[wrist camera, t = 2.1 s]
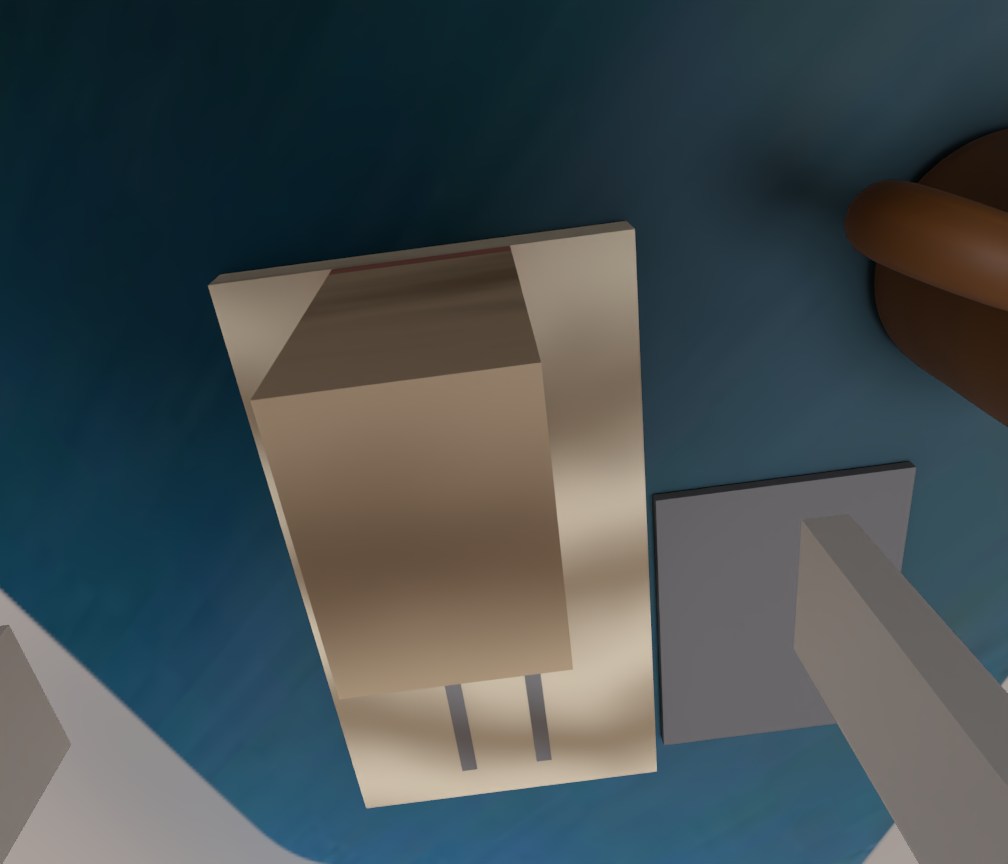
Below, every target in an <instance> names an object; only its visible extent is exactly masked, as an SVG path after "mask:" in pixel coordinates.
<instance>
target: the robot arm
mask: <svg viewBox="0 0 1008 864" xmlns="http://www.w3.org/2000/svg"><path fill="white" fill-rule="evenodd" d="M794 650H795V652H796V654H797V655H798V657H799V659H800V661H801V662H802V664H803V666H804V667H805V669H806V671H807V673H808V674H809V676H810V678H811V679H812V681H813V683H814V685H815V686H816V688H817V690H818V691H819V693H820V695H821V697H822V698H823V700H824V702H825V703H826V705H827V707H828V709H829V710H830V712H831V714H832V715H833V717H834V719H835V721H836V722H837V724H838V726H839V727H840V729H841V731H842V733H843V734H844V736H845V738H846V739H847V741H848V743H849V745H850V746H851V748H852V750H853V751H854V753H855V755H856V757H857V758H858V760H859V762H860V763H861V765H862V767H863V769H864V770H865V772H866V774H867V775H868V777H869V779H870V781H871V782H872V784H873V786H874V787H875V789H876V791H877V793H878V794H879V796H880V798H881V799H882V801H883V803H884V805H885V806H886V808H887V810H888V811H889V813H890V815H891V817H892V818H893V820H894V822H895V823H896V825H897V827H898V829H899V830H900V832H901V834H902V835H903V837H904V839H905V840H906V842H907V844H908V846H909V847H910V849H911V851H912V852H913V854H914V856H915V858H916V859H917V861H918V863H919V864H1008V693H1007V692H1006V691H1005V690H1004V689H1003V688H1002V687H1001V685H1000V684H999V683H998V682H997V681H996V680H995V679H994V678H993V676H992V675H991V674H990V673H989V672H988V671H987V670H986V668H985V667H984V666H983V665H982V664H981V663H980V662H979V661H978V659H977V658H976V657H975V656H974V655H973V654H972V653H971V652H970V650H969V649H968V648H967V647H966V646H965V645H964V644H963V643H962V641H961V640H960V639H959V638H958V637H957V636H956V635H955V634H954V632H953V631H952V630H951V629H950V628H949V627H948V626H947V625H946V623H945V622H944V621H943V620H942V619H941V618H940V617H939V615H938V614H937V613H936V612H935V611H934V610H933V609H932V608H931V606H930V605H929V604H928V603H927V602H926V601H925V600H924V599H923V597H922V596H921V595H920V594H919V593H918V592H917V591H916V590H915V588H914V587H913V586H912V585H911V584H910V583H909V582H908V581H907V579H906V578H905V577H904V576H903V575H902V574H901V573H900V572H899V570H898V569H897V568H896V567H895V566H894V565H893V564H892V562H891V561H890V560H889V559H888V558H887V557H886V556H885V555H884V553H883V552H882V551H881V550H880V549H879V548H878V547H877V546H876V544H875V543H874V542H873V541H872V540H871V539H870V538H869V537H868V535H867V534H866V533H865V532H864V531H863V530H862V529H861V528H860V526H859V525H858V524H857V523H856V522H855V521H854V520H853V519H852V517H851V516H850V515H849V514H842V515H834V516H827V517H819V518H812V519H804V520H802V525H801V540H800V556H799V572H798V587H797V603H796V619H795V634H794ZM70 745H71V743H70V741H69V739H68V737H67V735H66V734H65V731H64V730H63V728H62V726H61V724H60V722H59V720H58V718H57V716H56V714H55V712H54V711H53V708H52V706H51V705H50V703H49V701H48V699H47V697H46V695H45V693H44V691H43V689H42V687H41V685H40V684H39V682H38V680H37V678H36V676H35V674H34V672H33V670H32V668H31V666H30V664H29V662H28V661H27V659H26V657H25V655H24V653H23V651H22V649H21V647H20V645H19V643H18V642H17V640H16V638H15V636H14V634H13V632H12V630H11V628H10V626H9V625H5V626H0V864H2V863H3V862H4V860H5V858H6V857H7V855H8V853H9V851H10V850H11V848H12V846H13V844H14V843H15V841H16V839H17V837H18V835H19V834H20V832H21V831H22V829H23V827H24V825H25V824H26V822H27V820H28V818H29V817H30V815H31V813H32V811H33V810H34V808H35V806H36V804H37V803H38V801H39V799H40V797H41V796H42V794H43V792H44V791H45V789H46V787H47V785H48V784H49V782H50V780H51V778H52V777H53V775H54V773H55V772H56V770H57V768H58V766H59V765H60V763H61V761H62V759H63V758H64V756H65V754H66V752H67V751H68V749H69V747H70Z"/></svg>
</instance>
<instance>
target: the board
mask: <svg viewBox="0 0 1008 864" xmlns="http://www.w3.org/2000/svg"><path fill="white" fill-rule="evenodd" d="M505 246H510V248H511V251H512V255H513V259H514V263H515V266H516V270H517V274H518V278H519V281H520V285H521V289H522V293H523V296H524V300H525V304H526V307H527V311H528V315H529V319H530V322H531V326H532V330H533V334H534V337H535V341H536V345H537V349H538V352H539V356H540V360H541V366H542V375H543V385H544V394H545V404H546V414H547V423H548V433H549V442H550V452H551V462H552V471H553V481H554V490H555V500H556V510H557V519H558V529H559V538H560V548H561V558H562V567H563V577H564V586H565V596H566V606H567V615H568V625H569V635H570V644H571V654H572V663H573V670H566V671H558V672H550V673H542V674H534V675H527V676H519V677H511V678H503V679H495V680H487V681H480V682H472V683H464V684H456V685H448V686H441V687H433V688H425V689H417V690H409V691H402V692H394V693H386V694H378V695H370V696H363V697H355V698H347V699H339V697H338V693H337V690H336V687H335V683H334V680H333V677H332V673H331V670H330V667H329V663H328V660H327V657H326V653H325V650H324V647H323V643H322V640H321V636H320V633H319V630H318V626H317V623H316V620H315V616H314V613H313V610H312V606H311V603H310V600H309V596H308V593H307V590H306V586H305V583H304V579H303V576H302V573H301V569H300V566H299V563H298V559H297V556H296V553H295V549H294V546H293V543H292V539H291V536H290V533H289V529H288V526H287V522H286V519H285V516H284V512H283V509H282V506H281V502H280V499H279V496H278V492H277V489H276V486H275V482H274V479H273V476H272V472H271V469H270V465H269V462H268V459H267V455H266V452H265V449H264V445H263V442H262V439H261V435H260V432H259V429H258V425H257V422H256V419H255V415H254V412H253V408H252V405H251V402H250V400H251V398H252V397H253V395H254V394H255V392H256V390H257V389H258V387H259V386H260V384H261V382H262V381H263V379H264V378H265V376H266V374H267V373H268V371H269V370H270V368H271V366H272V365H273V363H274V361H275V360H276V358H277V357H278V355H279V353H280V352H281V350H282V349H283V347H284V345H285V344H286V342H287V341H288V339H289V337H290V336H291V334H292V333H293V331H294V329H295V328H296V326H297V324H298V323H299V321H300V320H301V318H302V316H303V315H304V313H305V312H306V310H307V308H308V307H309V305H310V304H311V302H312V300H313V299H314V297H315V296H316V294H317V292H318V291H319V289H320V288H321V286H322V284H323V283H324V281H325V279H326V278H327V276H328V275H329V273H330V271H331V270H332V269H339V268H346V267H354V266H361V265H369V264H376V263H384V262H392V261H399V260H407V259H414V258H422V257H429V256H437V255H445V254H452V253H460V252H467V251H475V250H482V249H490V248H497V247H505ZM208 288H209V291H210V295H211V298H212V301H213V304H214V308H215V311H216V314H217V318H218V321H219V324H220V327H221V331H222V334H223V337H224V341H225V344H226V347H227V351H228V354H229V357H230V360H231V364H232V367H233V370H234V374H235V377H236V380H237V384H238V387H239V390H240V393H241V397H242V400H243V403H244V407H245V410H246V413H247V417H248V420H249V423H250V426H251V430H252V433H253V436H254V440H255V443H256V446H257V450H258V453H259V456H260V459H261V463H262V466H263V469H264V473H265V476H266V479H267V483H268V486H269V489H270V492H271V496H272V499H273V502H274V506H275V509H276V512H277V515H278V519H279V522H280V525H281V529H282V532H283V535H284V539H285V542H286V545H287V548H288V552H289V555H290V558H291V562H292V565H293V568H294V572H295V575H296V578H297V581H298V585H299V588H300V591H301V595H302V598H303V601H304V605H305V608H306V611H307V614H308V618H309V621H310V624H311V628H312V631H313V634H314V638H315V641H316V644H317V647H318V651H319V654H320V657H321V661H322V664H323V667H324V671H325V674H326V677H327V680H328V684H329V687H330V690H331V694H332V697H333V700H334V703H335V707H336V710H337V713H338V717H339V720H340V723H341V727H342V730H343V733H344V736H345V740H346V743H347V746H348V750H349V753H350V756H351V760H352V763H353V766H354V769H355V773H356V776H357V779H358V783H359V786H360V789H361V793H362V796H363V799H364V802H365V806H366V808H373V807H380V806H388V805H396V804H404V803H412V802H420V801H428V800H435V799H443V798H451V797H459V796H467V795H475V794H483V793H491V792H498V791H506V790H514V789H522V788H530V787H538V786H546V785H554V784H561V783H569V782H577V781H585V780H593V779H601V778H609V777H616V776H624V775H632V774H640V773H648V772H656V771H657V762H656V738H655V713H654V688H653V664H652V639H651V614H650V589H649V565H648V540H647V515H646V491H645V466H644V441H643V417H642V392H641V367H640V343H639V318H638V293H637V269H636V244H635V229H634V228H633V227H632V226H631V225H630V224H629V223H628V222H627V221H621V222H613V223H606V224H598V225H591V226H583V227H576V228H568V229H560V230H553V231H545V232H538V233H530V234H523V235H515V236H508V237H500V238H492V239H485V240H477V241H470V242H462V243H455V244H447V245H440V246H432V247H424V248H417V249H409V250H402V251H394V252H387V253H379V254H371V255H364V256H356V257H349V258H341V259H334V260H326V261H319V262H311V263H303V264H296V265H288V266H281V267H273V268H266V269H258V270H251V271H243V272H235V273H228V274H220V275H219V276H218V277H217V278H216V279H215V280H213V281H212V282H211V283H210V284H209V285H208Z"/></svg>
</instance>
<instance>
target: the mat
mask: <svg viewBox="0 0 1008 864" xmlns="http://www.w3.org/2000/svg"><path fill="white" fill-rule="evenodd" d="M915 472H916V466H914V465H913V464H912V463H911V462H903V463H895V464H887V465H880V466H872V467H864V468H856V469H849V470H841V471H833V472H826V473H818V474H810V475H802V476H795V477H787V478H779V479H772V480H764V481H756V482H748V483H741V484H733V485H725V486H718V487H710V488H702V489H694V490H687V491H679V492H671V493H664V494H656V495H653V506H654V535H655V563H656V591H657V620H658V648H659V676H660V705H661V733H662V740H663V744H664V745H670V744H678V743H686V742H693V741H701V740H709V739H717V738H725V737H733V736H741V735H748V734H756V733H764V732H772V731H780V730H788V729H796V728H803V727H811V726H819V725H827V724H835V723H837V722H836V721H835V719H834V717H833V715H832V714H831V712H830V710H829V709H828V707H827V705H826V703H825V702H824V700H823V698H822V697H821V695H820V693H819V691H818V690H817V688H816V686H815V685H814V683H813V681H812V679H811V678H810V676H809V674H808V673H807V671H806V669H805V667H804V666H803V664H802V662H801V661H800V659H799V657H798V655H797V654H796V652H795V650H794V634H795V619H796V603H797V587H798V572H799V556H800V540H801V525H802V520H804V519H812V518H819V517H827V516H834V515H842V514H849V515H850V516H851V517H852V519H853V520H854V521H855V522H856V523H857V524H858V525H859V526H860V528H861V529H862V530H863V531H864V532H865V533H866V534H867V535H868V537H869V538H870V539H871V540H872V541H873V542H874V543H875V544H876V546H877V547H878V548H879V549H880V550H881V551H882V552H883V553H884V555H885V556H886V557H887V558H888V559H889V560H890V561H891V562H892V564H893V565H894V566H895V567H896V568H897V569H898V570H899V572H900V573H901V568H902V561H903V554H904V547H905V540H906V534H907V527H908V520H909V513H910V506H911V499H912V493H913V486H914V479H915Z"/></svg>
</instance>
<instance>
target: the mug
mask: <svg viewBox="0 0 1008 864" xmlns="http://www.w3.org/2000/svg"><path fill="white" fill-rule="evenodd" d="M844 223H845V231H846V237H847V238H848V240H849V241H850V243H851V244H852V246H853V247H854V249H855V250H857V251H858V252H860V253H861V254H863V255H864V256H866V257H868V258H869V259H871V260H873V261H875V262H876V266H875V277H874V293H875V302H876V306H877V311H878V314H879V317H880V320H881V322H882V325H883V327H884V328H885V330H886V332H887V334H888V335H889V337H890V338H891V340H892V341H893V342H894V343H895V345H896V346H897V347H898V348H899V349H900V351H901V352H902V353H904V354H905V355H906V356H907V357H908V358H909V359H911V360H912V361H913V362H914V363H915V364H917V365H918V366H919V367H920V368H922V369H923V370H925V371H926V372H928V373H929V374H931V375H932V376H934V377H935V378H937V379H938V380H940V381H941V382H943V383H944V384H946V385H947V386H949V387H950V388H951V389H953V390H954V391H956V392H957V393H958V394H960V395H961V396H963V397H964V398H965V399H967V400H968V401H970V402H971V403H973V404H974V405H975V406H977V407H978V408H980V409H981V410H983V411H984V412H986V413H987V414H989V415H990V416H992V417H993V418H995V419H996V420H998V421H999V422H1001V423H1002V424H1004V425H1005V426H1007V427H1008V128H1007V129H1003V130H1000V131H997V132H993V133H990V134H987V135H985V136H983V137H980V138H978V139H976V140H973V141H971V142H969V143H968V144H966V145H964V146H962V147H961V148H959V149H957V150H955V151H954V152H953V153H951V154H950V155H948V156H947V157H946V158H944V159H943V160H941V161H940V162H939V163H938V164H937V165H935V166H934V167H933V168H932V169H931V170H930V171H929V172H928V173H926V174H925V175H924V176H923V177H922V178H921V180H920V181H919V182H918V183H913V182H909V181H900V180H891V179H889V180H885V181H881V182H877V183H873V184H871V185H870V186H868V187H867V188H865V189H864V190H862V191H861V192H859V193H858V194H857V196H856V197H855V198H854V200H853V201H852V202H851V204H850V205H849V206H848V210H847V214H846V217H845V221H844Z"/></svg>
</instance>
